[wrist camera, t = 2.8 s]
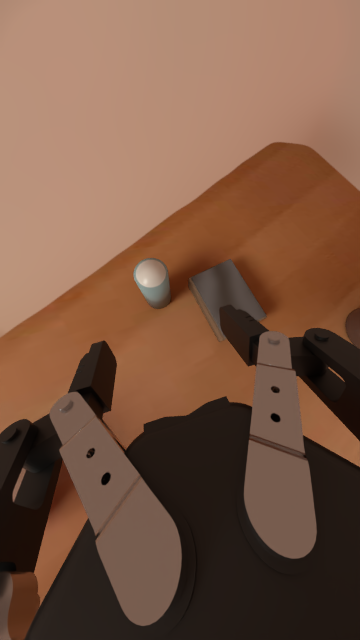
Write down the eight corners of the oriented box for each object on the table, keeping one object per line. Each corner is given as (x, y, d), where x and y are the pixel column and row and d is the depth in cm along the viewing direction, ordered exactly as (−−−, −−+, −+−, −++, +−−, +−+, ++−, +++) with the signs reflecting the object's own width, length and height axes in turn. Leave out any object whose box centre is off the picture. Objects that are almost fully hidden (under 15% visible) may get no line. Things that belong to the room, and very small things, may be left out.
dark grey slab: (225, 267, 36) (231, 257, 32) (258, 321, 33) (268, 316, 29) (188, 285, 35) (189, 276, 31) (219, 341, 32) (224, 339, 29)
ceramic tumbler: (164, 281, 35) (158, 252, 25) (175, 302, 34) (173, 280, 24) (142, 291, 34) (128, 266, 25) (152, 312, 34) (142, 295, 24)
